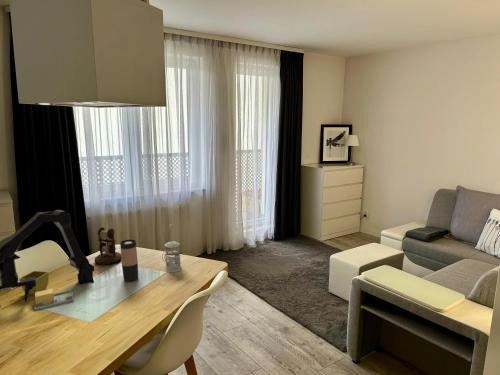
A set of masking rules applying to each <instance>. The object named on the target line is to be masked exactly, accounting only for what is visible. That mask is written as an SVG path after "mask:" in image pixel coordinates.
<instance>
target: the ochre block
mask: <svg viewBox="0 0 500 375" xmlns="http://www.w3.org/2000/svg"><path fill="white" fill-rule="evenodd" d="M54 294H55V292H54V288H50V289H45V290H43V291H39V292H35V295H34V296H35V297H34V301H35V300H36V304H39V303H43V304H44V303H48V302H52V300H54Z"/></svg>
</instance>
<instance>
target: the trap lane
mask: <svg viewBox="0 0 500 375" xmlns="http://www.w3.org/2000/svg"><path fill="white" fill-rule="evenodd" d="M74 301H75V299H74V294H73V289H69V290H64V291H61V292H54V300H52V302H48V303H44V304H43V303H39V304H36V300H35V299H34V311H39V310H44V309H45V310H46V309H48V308H53V307H56V306H57V307H58V306H60V305H64V304H70V303H74Z"/></svg>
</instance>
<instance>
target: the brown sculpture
mask: <svg viewBox="0 0 500 375" xmlns="http://www.w3.org/2000/svg"><path fill="white" fill-rule="evenodd" d="M97 235H98V239H97V241H98V242H99V244H98V246H99V247H98V250H99V254H97V256H95V257H94V262H95V264H99V265H100V264H101V265H105V264H108V266H110V265H111V264H112V263H115V262H119V261H120V260H121V252H116V240H115V230H114V228H109V229H108V230H106V228H105V227H100V228H98V230H97Z"/></svg>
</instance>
